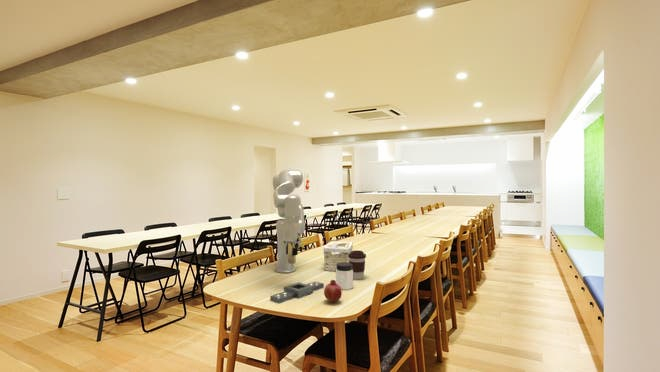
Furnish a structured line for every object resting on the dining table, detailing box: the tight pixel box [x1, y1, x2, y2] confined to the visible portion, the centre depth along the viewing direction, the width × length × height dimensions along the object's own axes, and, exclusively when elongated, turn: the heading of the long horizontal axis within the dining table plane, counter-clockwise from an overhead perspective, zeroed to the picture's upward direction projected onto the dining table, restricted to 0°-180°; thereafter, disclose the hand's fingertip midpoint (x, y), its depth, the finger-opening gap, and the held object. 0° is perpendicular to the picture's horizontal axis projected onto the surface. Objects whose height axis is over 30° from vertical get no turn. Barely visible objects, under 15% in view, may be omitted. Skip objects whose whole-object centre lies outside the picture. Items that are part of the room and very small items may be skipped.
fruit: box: [323, 279, 343, 303], centre depth 153 cm, size 8×8×10 cm
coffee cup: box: [348, 250, 367, 281], centre depth 191 cm, size 10×10×15 cm
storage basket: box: [323, 240, 354, 272], centre depth 216 cm, size 24×16×15 cm
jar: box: [335, 262, 354, 291], centre depth 174 cm, size 9×8×12 cm
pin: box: [288, 242, 297, 265], centre depth 177 cm, size 4×4×12 cm
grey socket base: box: [269, 281, 325, 304], centre depth 165 cm, size 10×30×3 cm, turn 140°
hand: (291, 254), depth 177 cm, fingers closed on pin, 4 cm apart
